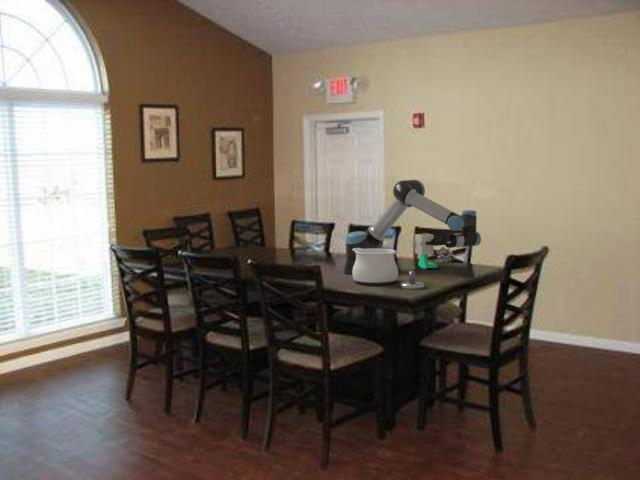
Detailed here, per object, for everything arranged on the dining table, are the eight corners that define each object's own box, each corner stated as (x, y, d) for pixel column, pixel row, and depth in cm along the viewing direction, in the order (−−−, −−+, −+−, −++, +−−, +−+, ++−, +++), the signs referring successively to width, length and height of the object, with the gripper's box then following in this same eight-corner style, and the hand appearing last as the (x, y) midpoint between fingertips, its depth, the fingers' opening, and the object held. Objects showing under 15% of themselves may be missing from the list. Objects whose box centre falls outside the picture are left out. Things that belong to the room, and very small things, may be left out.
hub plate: (407, 290, 360) (407, 274, 359) (396, 286, 371) (396, 271, 370) (428, 288, 365) (428, 272, 364) (416, 284, 376) (416, 269, 375)
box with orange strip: (421, 254, 373) (421, 234, 372) (415, 253, 379) (415, 233, 378) (433, 253, 376) (433, 233, 374) (426, 252, 382) (426, 232, 381)
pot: (410, 281, 385) (410, 249, 383) (382, 288, 367) (382, 254, 365) (368, 276, 404) (368, 245, 402) (340, 282, 386) (339, 250, 384)
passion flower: (445, 271, 455) (437, 256, 451) (437, 265, 465) (429, 251, 460) (459, 260, 457) (451, 246, 452) (451, 255, 466) (443, 241, 461)
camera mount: (437, 269, 428) (437, 252, 427) (425, 270, 426) (425, 252, 425) (430, 266, 440) (430, 249, 439) (418, 267, 438) (418, 250, 437)
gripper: (464, 249, 375) (425, 252, 366) (443, 245, 393) (406, 247, 385) (464, 235, 374) (425, 237, 365) (443, 231, 392) (406, 233, 384)
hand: (415, 242), depth 375 cm, fingers closed on box with orange strip, 7 cm apart
